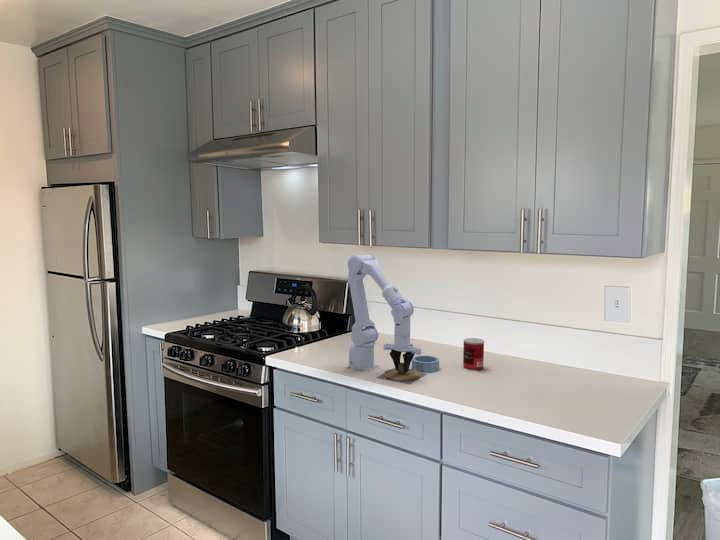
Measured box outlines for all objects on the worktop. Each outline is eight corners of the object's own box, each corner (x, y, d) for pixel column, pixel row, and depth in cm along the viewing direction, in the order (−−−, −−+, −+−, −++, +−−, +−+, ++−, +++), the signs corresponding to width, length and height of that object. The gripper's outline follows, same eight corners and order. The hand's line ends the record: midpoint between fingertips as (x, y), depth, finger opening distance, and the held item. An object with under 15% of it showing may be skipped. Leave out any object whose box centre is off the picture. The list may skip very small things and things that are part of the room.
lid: (377, 377, 200) (377, 365, 199) (394, 368, 211) (394, 357, 210) (409, 383, 193) (409, 370, 192) (425, 374, 204) (425, 362, 203)
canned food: (483, 365, 216) (484, 338, 215) (482, 371, 208) (483, 343, 207) (464, 364, 218) (464, 337, 217) (462, 370, 210) (462, 342, 209)
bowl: (407, 370, 210) (407, 360, 209) (419, 363, 219) (419, 354, 218) (431, 374, 204) (432, 364, 204) (443, 367, 213) (443, 357, 213)
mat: (375, 378, 200) (375, 377, 200) (394, 369, 211) (394, 368, 211) (410, 385, 192) (410, 384, 192) (427, 375, 204) (427, 374, 204)
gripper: (379, 334, 201) (379, 370, 202) (415, 339, 193) (414, 377, 194) (389, 330, 206) (388, 366, 208) (423, 335, 199) (423, 372, 200)
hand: (402, 371), depth 202 cm, fingers closed on lid, 3 cm apart
